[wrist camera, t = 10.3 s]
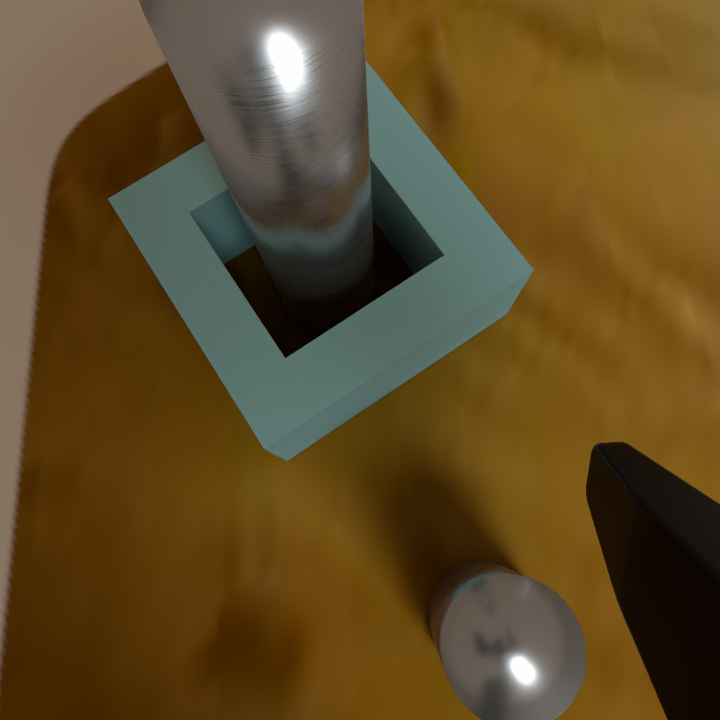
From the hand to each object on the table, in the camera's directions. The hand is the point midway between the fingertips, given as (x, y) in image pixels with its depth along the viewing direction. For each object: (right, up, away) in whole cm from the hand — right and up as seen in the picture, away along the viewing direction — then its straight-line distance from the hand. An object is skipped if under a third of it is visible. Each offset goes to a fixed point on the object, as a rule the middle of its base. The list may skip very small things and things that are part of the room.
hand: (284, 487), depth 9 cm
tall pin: (0, +5, +13) cm, 14 cm away
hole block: (0, +5, +13) cm, 14 cm away
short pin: (+5, -6, +10) cm, 13 cm away
